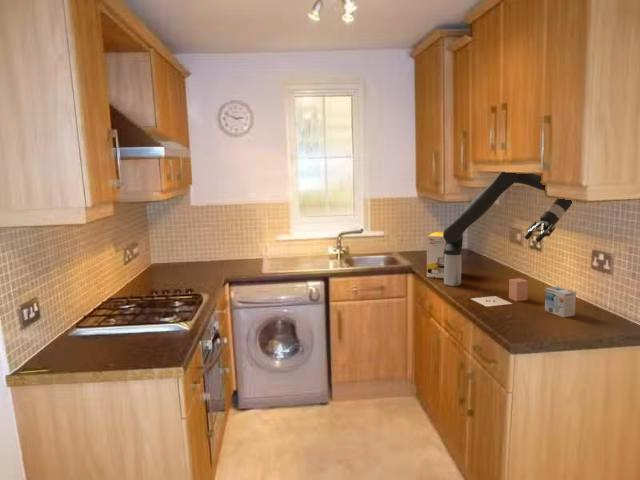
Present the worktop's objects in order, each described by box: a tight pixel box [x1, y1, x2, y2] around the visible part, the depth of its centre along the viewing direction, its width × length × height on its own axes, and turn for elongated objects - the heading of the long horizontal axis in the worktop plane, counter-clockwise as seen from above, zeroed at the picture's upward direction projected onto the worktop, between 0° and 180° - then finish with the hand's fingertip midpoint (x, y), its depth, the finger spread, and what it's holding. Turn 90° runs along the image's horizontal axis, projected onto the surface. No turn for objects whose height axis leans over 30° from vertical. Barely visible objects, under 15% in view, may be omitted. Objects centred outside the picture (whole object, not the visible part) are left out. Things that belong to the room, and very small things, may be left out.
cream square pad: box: [470, 295, 513, 307], centre depth 226 cm, size 14×14×1 cm
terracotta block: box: [508, 277, 529, 302], centre depth 227 cm, size 6×6×10 cm
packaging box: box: [426, 231, 446, 279], centre depth 282 cm, size 16×16×25 cm
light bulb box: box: [544, 285, 577, 318], centre depth 206 cm, size 11×7×11 cm, turn 21°
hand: (531, 239), depth 229 cm, fingers open, 8 cm apart
